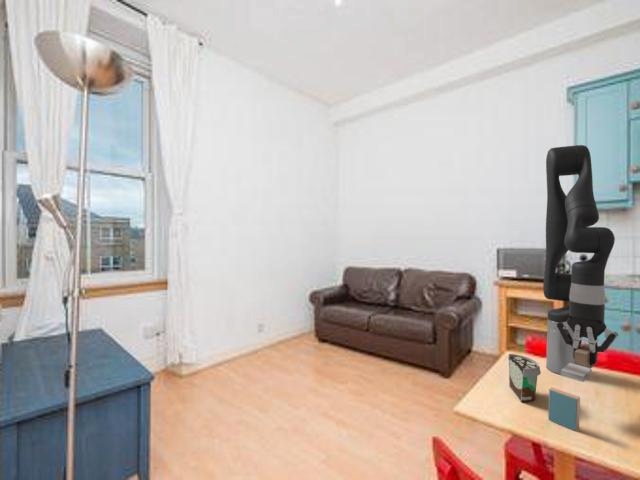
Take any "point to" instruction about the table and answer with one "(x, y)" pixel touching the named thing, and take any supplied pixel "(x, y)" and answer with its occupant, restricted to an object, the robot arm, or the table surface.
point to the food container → (523, 377)
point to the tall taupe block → (579, 365)
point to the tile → (564, 408)
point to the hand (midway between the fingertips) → (584, 362)
